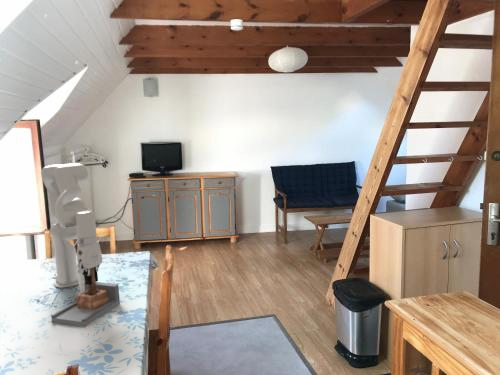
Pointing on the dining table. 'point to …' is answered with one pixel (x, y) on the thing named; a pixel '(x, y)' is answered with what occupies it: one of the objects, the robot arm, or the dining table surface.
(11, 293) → the dining table surface
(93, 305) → the block
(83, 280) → the drinking glass
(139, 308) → the dining table surface
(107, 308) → the grey open tray
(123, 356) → the dining table surface
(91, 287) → the dowel
